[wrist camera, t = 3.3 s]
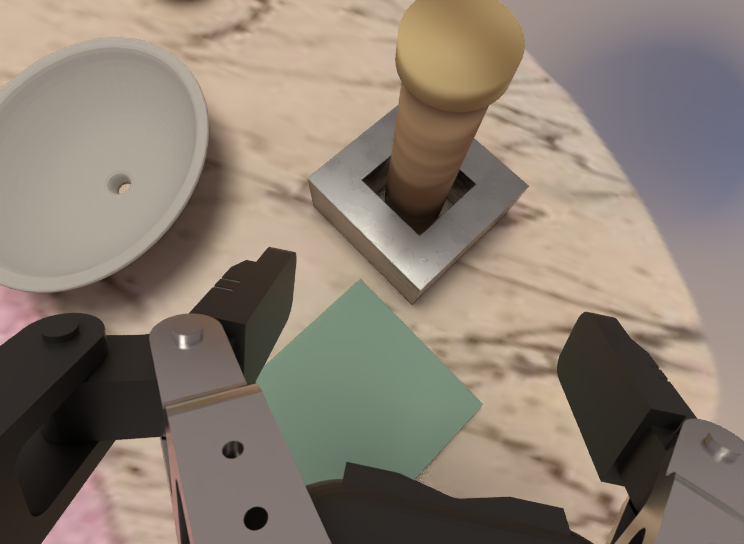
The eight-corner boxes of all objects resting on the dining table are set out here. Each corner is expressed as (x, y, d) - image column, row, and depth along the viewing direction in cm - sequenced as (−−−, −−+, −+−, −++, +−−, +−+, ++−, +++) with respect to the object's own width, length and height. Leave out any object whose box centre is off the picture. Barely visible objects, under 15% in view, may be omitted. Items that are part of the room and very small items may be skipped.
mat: (352, 541, 24) (352, 547, 23) (232, 398, 26) (228, 399, 25) (478, 403, 27) (483, 404, 26) (360, 282, 29) (360, 278, 28)
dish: (176, 334, 27) (137, 321, 22) (-30, 280, 28) (-111, 256, 23) (261, 113, 32) (245, 63, 27) (86, 70, 33) (39, 15, 28)
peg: (411, 253, 29) (465, 114, 15) (364, 207, 30) (371, 33, 16) (457, 210, 30) (550, 41, 16) (410, 167, 31) (458, -31, 17)
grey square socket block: (411, 304, 28) (420, 290, 24) (313, 205, 30) (307, 178, 26) (507, 212, 30) (528, 186, 27) (410, 125, 32) (417, 89, 28)
